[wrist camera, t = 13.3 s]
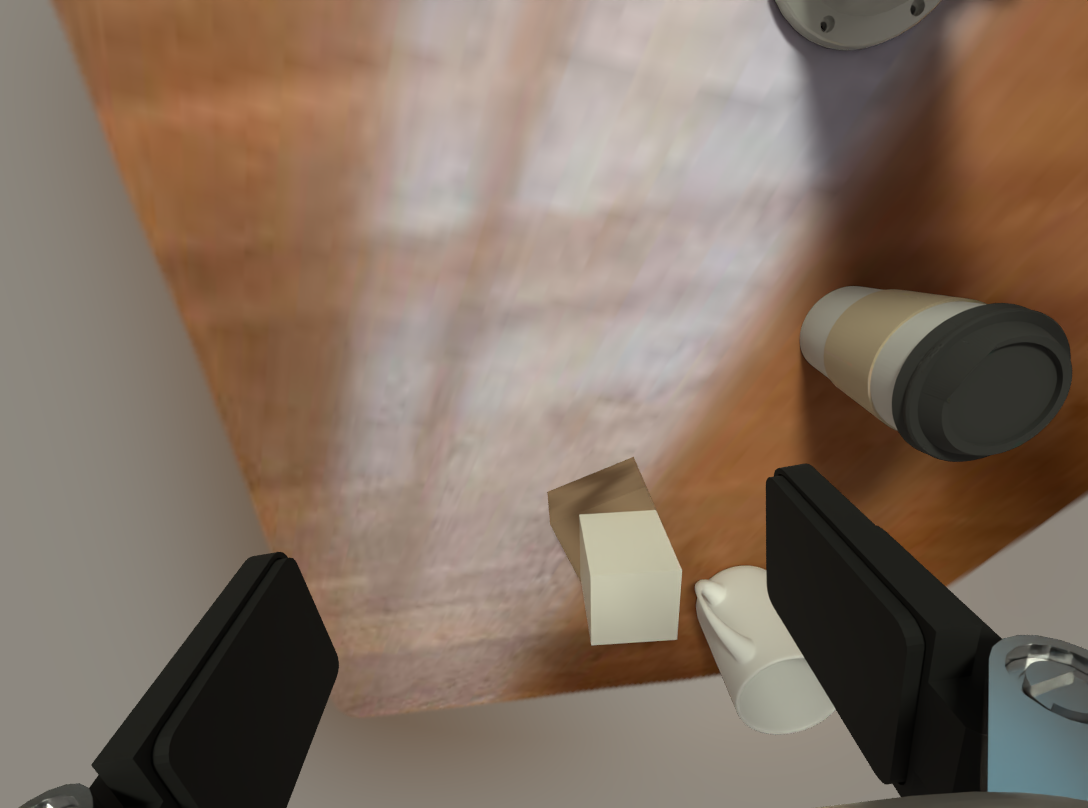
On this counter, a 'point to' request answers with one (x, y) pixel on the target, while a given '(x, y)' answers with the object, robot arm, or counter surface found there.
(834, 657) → the robot arm
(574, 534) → the walnut block
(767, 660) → the mug
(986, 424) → the coffee cup
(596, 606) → the cream block
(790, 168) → the counter surface
